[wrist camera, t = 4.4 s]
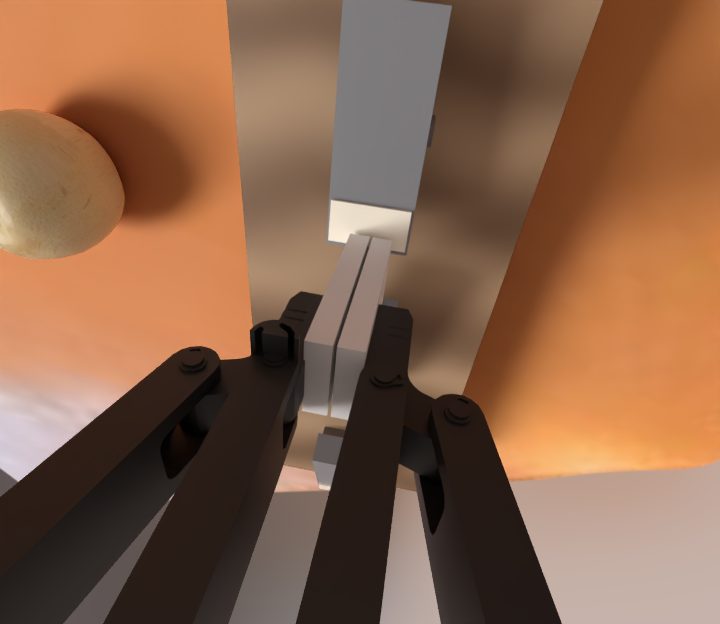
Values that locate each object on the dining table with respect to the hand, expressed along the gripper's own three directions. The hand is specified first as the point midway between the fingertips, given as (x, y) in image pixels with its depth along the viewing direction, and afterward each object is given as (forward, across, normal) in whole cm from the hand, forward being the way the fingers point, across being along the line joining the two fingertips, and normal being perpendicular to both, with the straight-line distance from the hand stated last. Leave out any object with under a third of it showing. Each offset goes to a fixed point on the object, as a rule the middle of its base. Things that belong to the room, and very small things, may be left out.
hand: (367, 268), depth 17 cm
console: (+9, 0, -6) cm, 11 cm away
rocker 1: (+2, 0, -16) cm, 17 cm away
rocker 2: (+1, 0, +5) cm, 5 cm away
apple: (+9, -19, -2) cm, 21 cm away
